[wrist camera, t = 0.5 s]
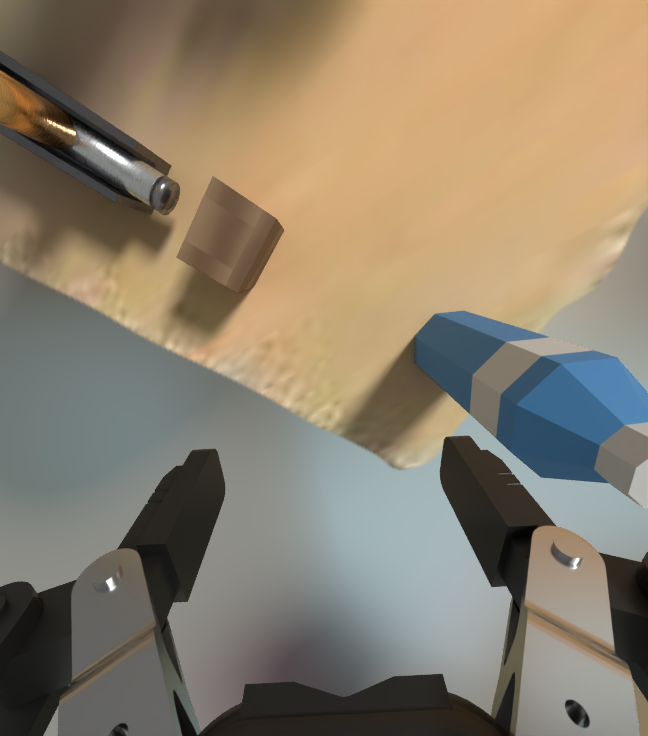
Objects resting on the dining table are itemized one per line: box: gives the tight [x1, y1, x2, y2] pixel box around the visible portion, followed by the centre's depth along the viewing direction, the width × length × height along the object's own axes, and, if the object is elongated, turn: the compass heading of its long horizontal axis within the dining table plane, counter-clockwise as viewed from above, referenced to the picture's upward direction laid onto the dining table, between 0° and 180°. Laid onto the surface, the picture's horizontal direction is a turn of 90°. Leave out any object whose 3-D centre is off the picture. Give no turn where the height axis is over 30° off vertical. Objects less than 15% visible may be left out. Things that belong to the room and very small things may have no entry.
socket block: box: [177, 176, 284, 293], centre depth 29 cm, size 6×7×9 cm
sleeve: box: [0, 51, 171, 214], centre depth 27 cm, size 15×5×6 cm, turn 58°
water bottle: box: [415, 311, 648, 509], centre depth 27 cm, size 9×9×25 cm
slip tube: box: [0, 69, 180, 215], centre depth 22 cm, size 16×3×11 cm, turn 58°
